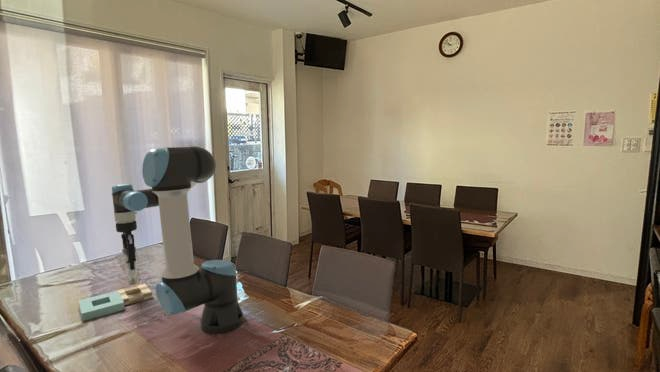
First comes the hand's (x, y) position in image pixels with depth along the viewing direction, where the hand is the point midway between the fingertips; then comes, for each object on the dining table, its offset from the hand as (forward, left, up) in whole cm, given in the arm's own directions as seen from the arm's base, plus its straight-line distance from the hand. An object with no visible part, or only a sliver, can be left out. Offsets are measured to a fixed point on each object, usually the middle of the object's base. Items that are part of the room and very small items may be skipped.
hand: (131, 275), depth 152 cm
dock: (-3, +12, -10) cm, 16 cm away
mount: (0, 0, -10) cm, 10 cm away
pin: (0, 0, -4) cm, 4 cm away
